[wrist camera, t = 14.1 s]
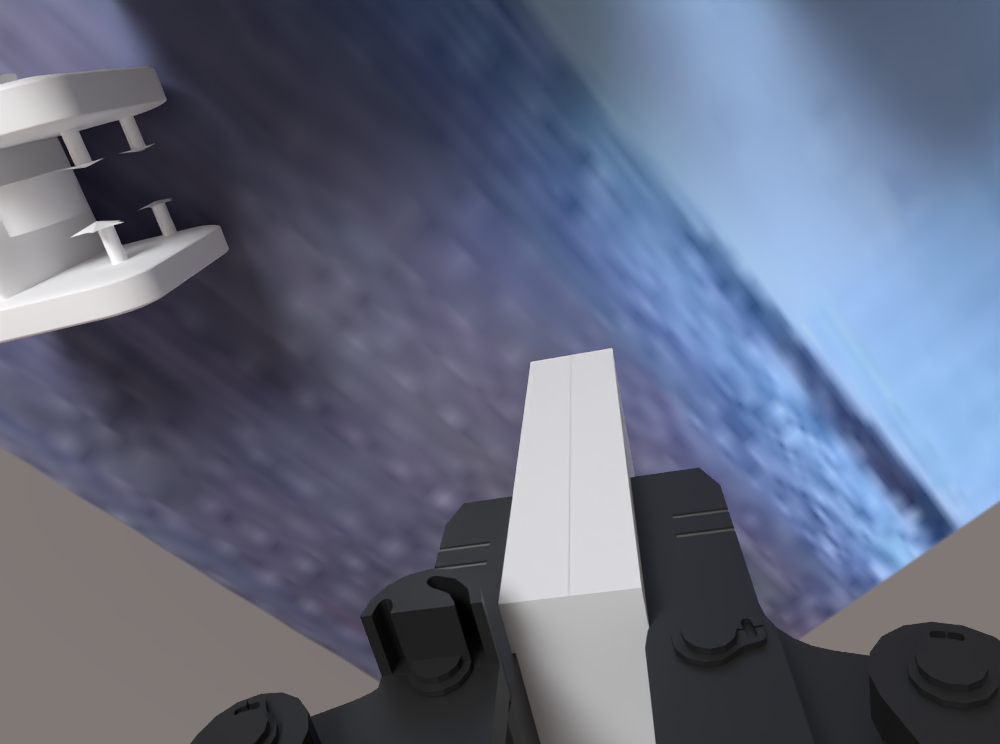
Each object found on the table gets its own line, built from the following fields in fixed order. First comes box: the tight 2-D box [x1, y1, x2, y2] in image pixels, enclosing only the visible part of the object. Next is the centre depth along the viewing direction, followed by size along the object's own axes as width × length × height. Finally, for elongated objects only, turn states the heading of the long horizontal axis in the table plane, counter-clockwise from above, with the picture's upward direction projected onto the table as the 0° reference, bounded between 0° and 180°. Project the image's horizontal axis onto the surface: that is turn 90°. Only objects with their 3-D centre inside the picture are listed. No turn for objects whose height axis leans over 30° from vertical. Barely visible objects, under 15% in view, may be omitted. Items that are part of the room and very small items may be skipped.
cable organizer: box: [0, 66, 229, 343], centre depth 38 cm, size 15×11×12 cm
